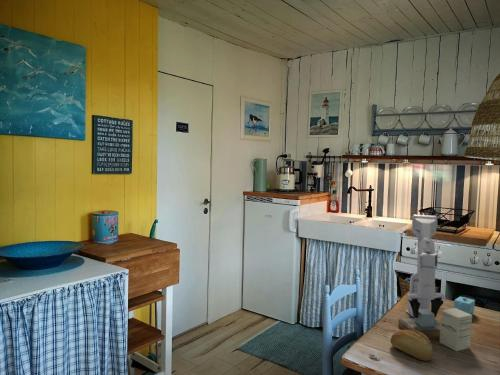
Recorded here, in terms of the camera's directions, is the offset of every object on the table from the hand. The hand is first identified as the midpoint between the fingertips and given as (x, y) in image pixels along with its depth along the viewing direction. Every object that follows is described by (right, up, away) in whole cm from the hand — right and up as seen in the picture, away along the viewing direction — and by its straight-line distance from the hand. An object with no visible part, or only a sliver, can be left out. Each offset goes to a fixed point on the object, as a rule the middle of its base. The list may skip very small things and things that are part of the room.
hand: (424, 316), depth 155 cm
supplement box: (+6, -7, -11) cm, 14 cm away
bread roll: (-12, -7, -17) cm, 22 cm away
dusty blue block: (0, -3, 0) cm, 3 cm away
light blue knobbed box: (+25, -5, +18) cm, 31 cm away
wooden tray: (0, -6, 0) cm, 6 cm away
